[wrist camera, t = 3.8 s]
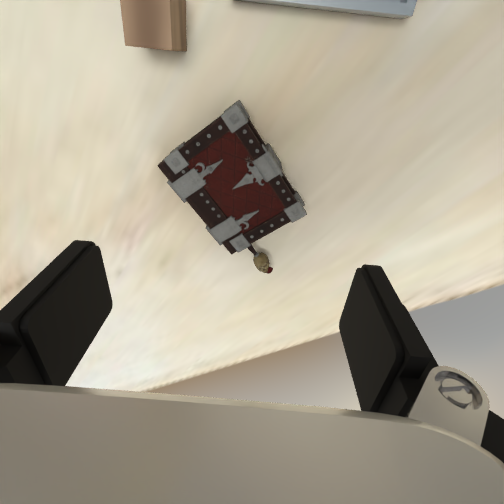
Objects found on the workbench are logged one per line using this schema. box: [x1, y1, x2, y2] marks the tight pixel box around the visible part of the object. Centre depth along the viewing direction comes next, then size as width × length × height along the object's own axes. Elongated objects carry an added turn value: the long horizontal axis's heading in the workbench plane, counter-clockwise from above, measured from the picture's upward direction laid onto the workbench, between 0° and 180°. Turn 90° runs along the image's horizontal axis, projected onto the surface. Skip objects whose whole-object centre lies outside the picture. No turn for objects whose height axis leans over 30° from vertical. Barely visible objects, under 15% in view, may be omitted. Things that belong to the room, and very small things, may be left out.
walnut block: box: [120, 0, 187, 51], centre depth 34 cm, size 5×5×7 cm
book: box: [158, 100, 307, 274], centre depth 47 cm, size 15×25×5 cm, turn 34°
